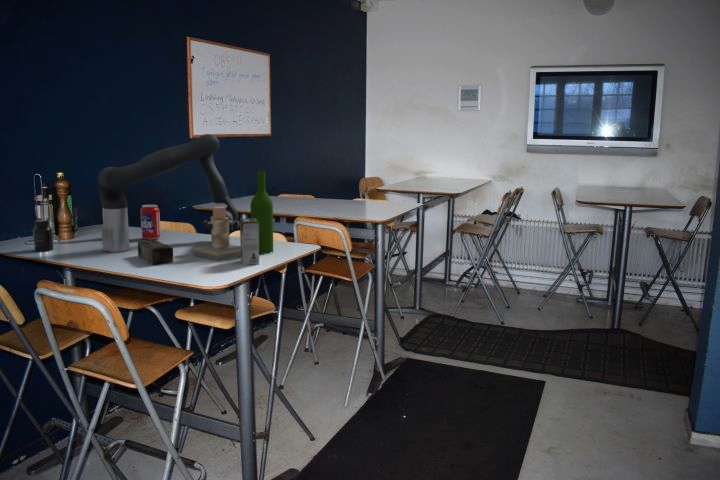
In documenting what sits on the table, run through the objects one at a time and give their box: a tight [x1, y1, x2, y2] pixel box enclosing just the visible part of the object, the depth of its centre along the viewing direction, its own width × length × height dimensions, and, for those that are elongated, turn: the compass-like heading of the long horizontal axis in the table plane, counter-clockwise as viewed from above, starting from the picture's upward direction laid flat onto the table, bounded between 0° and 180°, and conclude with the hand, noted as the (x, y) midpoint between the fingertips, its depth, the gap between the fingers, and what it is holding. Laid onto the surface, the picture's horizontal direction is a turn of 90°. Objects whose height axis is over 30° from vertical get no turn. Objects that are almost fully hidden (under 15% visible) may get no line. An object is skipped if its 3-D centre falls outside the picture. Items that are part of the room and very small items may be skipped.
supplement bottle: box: [32, 219, 54, 252], centre depth 233 cm, size 7×7×12 cm
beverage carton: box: [137, 239, 174, 266], centre depth 221 cm, size 8×19×7 cm, turn 36°
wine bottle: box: [250, 171, 274, 254], centre depth 235 cm, size 9×9×32 cm
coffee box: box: [239, 217, 260, 266], centre depth 218 cm, size 9×6×16 cm
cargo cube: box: [212, 206, 226, 219], centre depth 227 cm, size 4×4×4 cm
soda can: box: [140, 204, 161, 241], centre depth 260 cm, size 8×8×15 cm
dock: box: [193, 243, 241, 261], centre depth 230 cm, size 14×14×3 cm
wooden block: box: [209, 216, 230, 250], centre depth 229 cm, size 6×6×12 cm
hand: (219, 227), depth 227 cm, fingers closed on wooden block, 7 cm apart
